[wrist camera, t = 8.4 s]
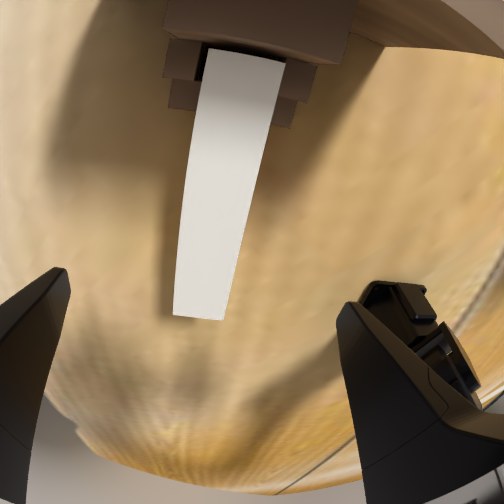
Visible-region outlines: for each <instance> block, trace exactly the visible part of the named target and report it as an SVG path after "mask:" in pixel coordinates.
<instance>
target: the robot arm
mask: <svg viewBox="0 0 504 504" xmlns="http://www.w3.org/2000/svg"><path fill="white" fill-rule="evenodd" d="M376 286H377V287H376ZM426 291H427V289H426V288H425V286H424V285H417V284H408V283H399V282H397V283H396V282H387V281H374V282H372V283H371V285H370V286H369V288H368V290H367V292H366V294H365V295H364V297H363V299H362V301H361V302H360V303H358V302H351V301H348V302H346V303H345V305H344V306H343V308H342V310H341V312H340V314H339V315H338V317H337V320H336V328H337V336H338V344H339V353H340V361H341V366H342V371H343V376H344V380H345V385H346V389H347V394H348V399H349V404H350V409H351V414H352V419H353V424H354V429H355V434H356V440H357V445H358V451H359V457H360V463H361V469H362V476H363V482H364V489H365V496H366V503H367V504H504V414H495V413H494V414H493V413H488V412H485V411H482V404H481V402H480V400H479V398H478V396H477V394H476V392H475V391H476V390H477V389H479V388H480V387H481V384H480V382H479V379H478V377H477V375H476V372H475V370H474V368H473V366H472V363H471V361H470V359H469V357H468V355H467V354H466V352H465V350H464V349H463V347H462V345H461V344H460V342H459V340H458V339H457V337H456V336H455V335H454V333H453V332H452V331H451V330H450V328H449V327H448V326H447V324H446V323H445V322H444V321H443V322H442V323H441V324H440V325H439V326H438V324H437V322H436V321H435V320H436V318H437V315H436V313H435V311H434V310H433V308H432V307H431V305H430V304H429V302H428V300H427V299H426V297H425V296H424V295H425V293H426ZM70 294H71V288H70V283H69V278H68V273H67V271H66V269H64V268H59V267H54V268H52V269H50V270H49V271H47V272H46V273H44V274H43V275H42V276H40V277H39V278H37V279H36V280H34V281H33V282H31V283H30V284H29V285H27V286H26V287H24V288H23V289H22V290H20V291H19V292H17V293H16V294H15V295H13V296H12V297H11V298H9V299H8V300H7V301H5V302H4V303H3V304H1V305H0V498H1V499H3V500H6V501H9V502H11V503H14V504H26V491H27V480H28V472H29V465H30V458H31V450H32V445H33V439H34V434H35V428H36V423H37V419H38V414H39V409H40V405H41V401H42V397H43V393H44V389H45V385H46V382H47V378H48V375H49V371H50V368H51V364H52V361H53V358H54V354H55V351H56V348H57V345H58V342H59V339H60V335H61V331H62V327H63V323H64V318H65V314H66V310H67V306H68V302H69V299H70ZM451 351H452V352H451ZM450 352H451V353H450ZM448 353H449V354H448ZM447 354H448V355H447Z"/></svg>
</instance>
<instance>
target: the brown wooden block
mask: <svg viewBox="0 0 504 504" xmlns="http://www.w3.org/2000/svg"><path fill="white" fill-rule="evenodd" d="M162 29H164V30H166V31H168V32H169V33H171V34H173V35H174V36H176V37H178V38H180V39H172V38H170V42H169V46H168V51H167V56H166V61H165V67H164V72H163V78H173V80H172V86H171V92H170V98H169V104H168V108H172V109H181V110H189V111H196V110H197V105H198V100H199V94H200V89H201V84H202V79H198V77H199V72H200V67H201V62H202V58H203V53H204V49H205V45H208V46H215V47H222V48H228V49H234V50H240V51H245V52H250V53H255V54H260V55H264V56H269V57H273V58H277V59H278V62H282V63H286V64H285V68H284V72H283V76H282V80H281V83H280V87H279V91H278V95H277V99H276V103H275V107H274V111H273V115H272V119H271V123H270V124H272V125H276V126H281V127H285V128H289V129H290V126H291V122H292V119H293V115H294V111H295V107H296V104H297V101H301V102H305V103H307V101H308V98H309V94H310V91H311V87H312V83H313V80H314V76H315V72H316V69H317V66H315V65H312V64H308V63H321V64H341V63H342V59H343V56H344V52H345V48H346V45H347V41H348V37H349V33H350V32H352V33H355V34H357V35H360V36H362V37H364V38H367V39H369V40H371V41H374V42H376V43H378V44H380V45H383V46H385V47H413V48H430V49H442V50H452V51H461V52H468V53H475V54H481V55H487V56H492V57H497V58H502V59H504V1H503V0H169V2H168V5H167V9H166V13H165V18H164V22H163V26H162Z"/></svg>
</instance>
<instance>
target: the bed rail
mask: <svg viewBox="0 0 504 504" xmlns="http://www.w3.org/2000/svg"><path fill="white" fill-rule="evenodd" d="M285 64H286V63H282V62H278V61H274V60H270V59H265V58H261V57H256V56H251V55H246V54H241V53H235V52H229V51H223V50H217V49H210V48H209V51H208V56H207V60H206V65H205V70H204V74H203V79H202V84H201V89H200V94H199V100H198V105H197V110H196V116H195V122H194V128H193V134H192V140H191V146H190V152H189V159H188V166H187V173H186V180H185V188H184V195H183V204H182V212H181V221H180V230H179V240H178V250H177V261H176V273H175V286H174V301H173V315H179V316H187V317H196V318H205V319H214V320H223V319H224V315H225V310H226V306H227V302H228V297H229V293H230V289H231V285H232V280H233V276H234V272H235V267H236V263H237V259H238V255H239V250H240V246H241V242H242V238H243V234H244V229H245V225H246V221H247V217H248V213H249V208H250V204H251V200H252V196H253V192H254V188H255V184H256V180H257V175H258V171H259V167H260V163H261V159H262V155H263V151H264V147H265V143H266V139H267V135H268V131H269V127H270V123H271V119H272V115H273V111H274V107H275V103H276V99H277V95H278V91H279V87H280V83H281V80H282V76H283V72H284V68H285Z"/></svg>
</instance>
